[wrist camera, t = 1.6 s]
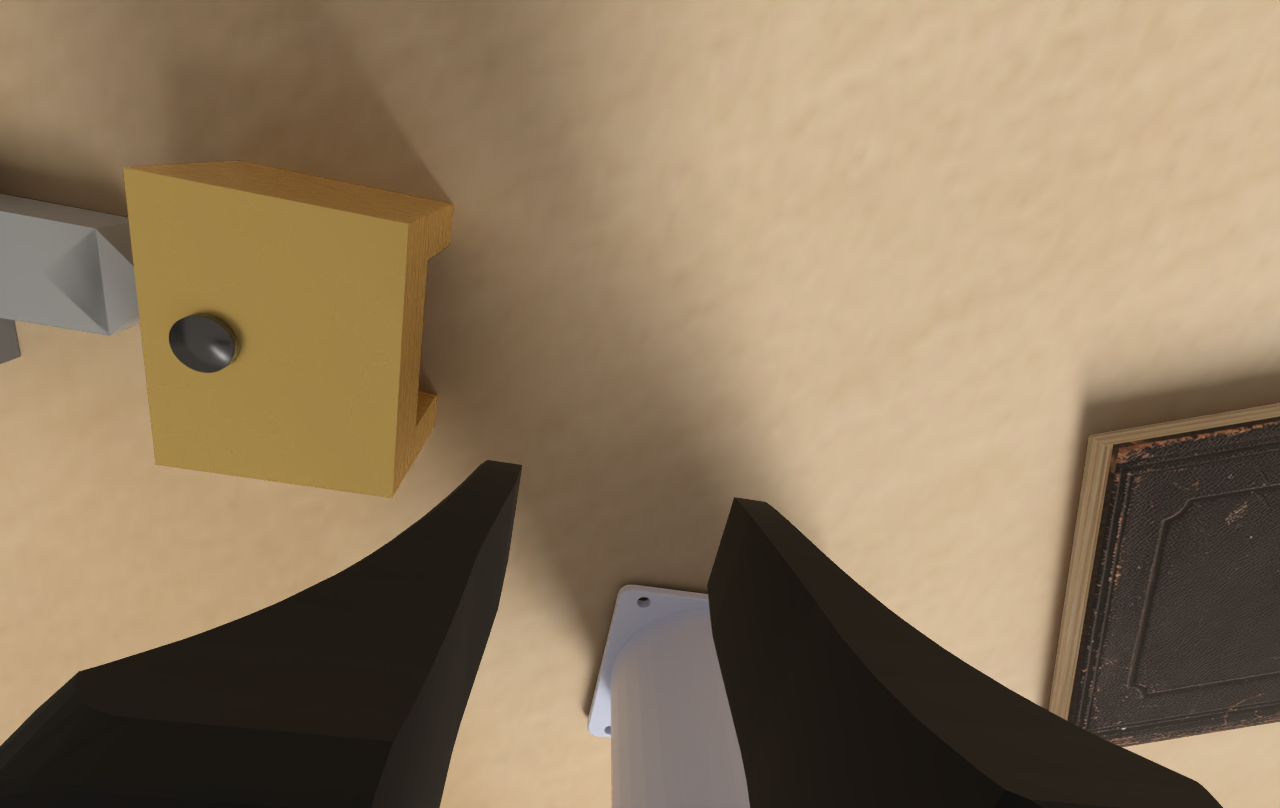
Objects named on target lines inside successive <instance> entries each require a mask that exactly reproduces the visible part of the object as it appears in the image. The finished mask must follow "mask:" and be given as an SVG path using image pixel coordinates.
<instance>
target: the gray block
mask: <svg viewBox="0 0 1280 808" xmlns="http://www.w3.org/2000/svg"><path fill="white" fill-rule="evenodd" d="M14 320H16V321H22V322H28V323H34V324H41V325H47V326H53V327H59V328H65V329H71V330H77V331H83V332H89V333H95V334H101V335H108V336H110V335H113V334H115V333H118V332H120V331H123V330H125V329H128V328H130V327H133V326H135V325H138V324H140V318H139V309H138V300H137V291H136V282H135V273H134V264H133V255H132V246H131V237H130V228H129V219H128V217H123V216H117V215H112V214H107V213H101V212H96V211H91V210H85V209H80V208H75V207H70V206H64V205H59V204H54V203H48V202H43V201H38V200H32V199H27V198H22V197H16V196H11V195H6V194H0V364H2V363H4V362H7V361H10V360H12V359H15V358H18V357H20V351H19V345H18V340H17V335H16V330H15V325H14Z"/></svg>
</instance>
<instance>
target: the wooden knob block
mask: <svg viewBox="0 0 1280 808" xmlns="http://www.w3.org/2000/svg"><path fill="white" fill-rule="evenodd" d="M123 174H124V183H125V192H126V201H127V210H128V219H129V228H130V237H131V246H132V255H133V264H134V273H135V282H136V291H137V300H138V309H139V318H140V327H141V336H142V345H143V355H144V364H145V373H146V382H147V391H148V400H149V409H150V418H151V427H152V436H153V445H154V454H155V463H156V465H162V466H169V467H176V468H183V469H190V470H197V471H204V472H212V473H219V474H226V475H233V476H240V477H247V478H254V479H261V480H268V481H276V482H283V483H290V484H297V485H304V486H311V487H318V488H325V489H332V490H340V491H347V492H354V493H361V494H368V495H375V496H382V497H389V498H393V496H394V494H395V492H396V491H397V489H398V487H399V486H400V484H401V482H402V481H403V479H404V477H405V475H406V474H407V472H408V470H409V469H410V467H411V465H412V464H413V462H414V460H415V458H416V457H417V455H418V453H419V452H420V450H421V448H422V446H423V445H424V443H425V441H426V440H427V438H428V436H429V435H430V433H431V431H432V429H433V428H434V425H435V413H436V402H437V394H432V393H426V392H420V391H418V387H419V373H420V359H421V345H422V331H423V317H424V303H425V289H426V275H427V262H428V259H430V258H431V257H433V256H434V255H436V254H437V253H438V252H440V251H441V250H443V249H444V248H446V247H447V246H449V245H450V237H451V225H452V213H453V204H450V203H445V202H440V201H435V200H431V199H426V198H421V197H416V196H411V195H406V194H401V193H396V192H391V191H386V190H381V189H376V188H371V187H366V186H362V185H357V184H352V183H347V182H342V181H337V180H332V179H327V178H322V177H317V176H312V175H307V174H302V173H298V172H293V171H288V170H283V169H278V168H273V167H268V166H263V165H258V164H253V163H248V162H243V161H221V162H205V163H188V164H171V165H155V166H138V167H123Z"/></svg>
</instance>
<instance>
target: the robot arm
mask: <svg viewBox="0 0 1280 808" xmlns="http://www.w3.org/2000/svg"><path fill="white" fill-rule="evenodd" d="M521 470H522V465H517V464H511V463H504V462H498V461H491V460H487V461H485V462H484V463H482V464H481V465H480V466H479V467H478V468H477V469H476V470H475V471H474V472H473V473H472V474H471V475H470V476H469V477H468V478H467V479H466V480H465V481H464V482H463V483H462V484H461V485H460V486H458V487H457V488H456V489H455V490H454V491H453V492H452V493H451V494H450V495H449V496H447V497H446V498H445V499H444V500H443V501H441V502H440V503H439V504H438V505H437V506H436V507H434V508H433V509H432V510H431V511H430V512H428V513H427V514H426V515H425V516H424V517H422V518H421V519H420V520H418V521H417V522H416V523H414V524H413V525H412V526H410V527H409V528H407V529H406V530H405V531H403V532H402V533H401V534H399V535H398V536H397V537H395V538H394V539H393V540H391V541H390V542H388V543H387V544H385V545H384V546H382V547H381V548H379V549H378V550H376V551H375V552H373V553H372V554H370V555H369V556H367V557H365V558H364V559H362V560H360V561H359V562H357V563H355V564H354V565H352V566H350V567H349V568H347V569H345V570H343V571H342V572H340V573H338V574H336V575H334V576H332V577H330V578H328V579H326V580H324V581H322V582H320V583H318V584H316V585H314V586H312V587H309V588H307V589H305V590H303V591H301V592H299V593H297V594H295V595H293V596H291V597H289V598H287V599H285V600H283V601H281V602H278V603H276V604H274V605H271V606H269V607H267V608H264V609H262V610H259V611H257V612H255V613H252V614H250V615H247V616H245V617H243V618H240V619H237V620H235V621H232V622H230V623H227V624H224V625H222V626H219V627H216V628H214V629H211V630H209V631H206V632H203V633H200V634H197V635H195V636H192V637H189V638H186V639H183V640H180V641H177V642H174V643H171V644H168V645H164V646H161V647H158V648H155V649H152V650H148V651H145V652H142V653H139V654H136V655H133V656H129V657H126V658H123V659H120V660H117V661H114V662H110V663H107V664H104V665H101V666H97V667H94V668H90V669H86V670H83V671H79V672H78V673H77V674H76V675H75V676H74V677H72V678H71V679H70V680H69V681H68V682H67V683H66V684H65V685H64V686H62V687H61V688H60V689H59V690H58V691H57V692H56V693H55V694H54V695H52V696H51V697H50V698H49V699H48V700H47V701H46V702H45V703H43V704H42V705H41V706H40V707H39V708H38V709H37V710H36V711H35V712H34V713H33V714H32V715H31V716H30V717H29V718H28V719H27V720H26V721H25V722H24V723H23V724H22V725H21V726H20V727H19V728H18V729H17V730H16V731H15V732H14V733H13V734H12V735H11V736H10V737H9V738H8V739H7V740H6V741H5V742H4V743H3V744H2V745H1V746H0V808H439V807H440V803H441V798H442V794H443V790H444V785H445V781H446V777H447V772H448V768H449V764H450V759H451V755H452V751H453V747H454V744H455V740H456V737H457V733H458V730H459V726H460V723H461V720H462V717H463V714H464V711H465V708H466V705H467V702H468V699H469V696H470V693H471V689H472V686H473V683H474V680H475V677H476V674H477V671H478V668H479V665H480V662H481V659H482V656H483V653H484V650H485V647H486V644H487V641H488V638H489V635H490V632H491V628H492V625H493V622H494V619H495V616H496V613H497V610H498V606H499V601H500V596H501V591H502V587H503V582H504V577H505V572H506V567H507V562H508V557H509V550H510V543H511V536H512V530H513V523H514V516H515V510H516V503H517V496H518V490H519V483H520V476H521ZM707 587H708V594H702V593H695V592H687V591H679V590H672V589H664V588H656V587H648V586H641V585H626V586H623V587H622V588H621V589H620V590H619V592H618V596H617V600H616V604H615V608H614V612H613V617H612V621H611V625H610V629H609V633H608V637H607V642H606V646H605V650H604V654H603V658H602V663H601V667H600V671H599V675H598V679H597V683H596V688H595V692H594V696H593V700H592V704H591V708H590V713H589V717H588V723H587V729H588V732H589V733H590V734H592V735H594V736H599V737H610V738H611V783H612V808H1223V807H1222V806H1221V805H1220V804H1219V803H1218V802H1217V800H1216V799H1215V798H1214V797H1213V796H1212V795H1211V794H1210V793H1209V792H1208V791H1207V790H1206V789H1205V788H1204V787H1203V786H1202V785H1201V784H1199V783H1198V782H1196V781H1194V780H1192V779H1190V778H1188V777H1185V776H1183V775H1181V774H1179V773H1177V772H1175V771H1172V770H1170V769H1168V768H1166V767H1164V766H1161V765H1159V764H1157V763H1155V762H1153V761H1150V760H1148V759H1146V758H1144V757H1142V756H1140V755H1137V754H1135V753H1133V752H1131V751H1129V750H1126V749H1124V748H1122V747H1120V746H1118V745H1115V744H1113V743H1111V742H1109V741H1107V740H1104V739H1102V738H1100V737H1098V736H1096V735H1094V734H1092V733H1090V732H1088V731H1086V730H1084V729H1082V728H1081V727H1079V726H1077V725H1075V724H1073V723H1071V722H1069V721H1067V720H1065V719H1063V718H1061V717H1059V716H1057V715H1056V714H1054V713H1052V712H1050V711H1048V710H1046V709H1044V708H1042V707H1040V706H1038V705H1037V704H1035V703H1033V702H1031V701H1030V700H1028V699H1026V698H1024V697H1022V696H1021V695H1019V694H1017V693H1015V692H1013V691H1012V690H1010V689H1008V688H1006V687H1005V686H1003V685H1001V684H1000V683H998V682H997V681H995V680H993V679H992V678H990V677H988V676H987V675H985V674H983V673H982V672H980V671H978V670H977V669H975V668H973V667H972V666H970V665H969V664H967V663H965V662H964V661H962V660H961V659H959V658H958V657H956V656H954V655H953V654H951V653H950V652H948V651H947V650H945V649H944V648H942V647H941V646H939V645H938V644H937V643H935V642H934V641H932V640H931V639H929V638H928V637H927V636H925V635H924V634H922V633H921V632H920V631H918V630H917V629H915V628H914V627H912V626H911V625H910V624H908V623H907V622H905V621H904V620H903V619H901V618H900V617H899V616H897V615H896V614H895V613H894V612H892V611H891V610H890V609H888V608H887V607H886V606H885V605H883V604H882V603H881V602H880V601H878V600H877V599H876V598H875V597H874V596H872V595H871V594H870V593H869V592H867V591H866V590H865V589H864V588H863V587H861V586H860V585H859V584H858V583H857V582H855V581H854V580H853V579H852V578H851V577H850V576H848V575H847V574H846V573H845V572H844V571H843V570H842V569H840V568H839V567H838V566H837V565H836V564H835V563H834V562H833V561H831V560H830V559H829V558H828V557H827V556H826V555H825V554H824V553H823V552H822V551H820V550H819V549H818V548H817V547H816V546H815V545H814V544H813V543H812V542H811V541H810V540H809V539H807V538H806V537H805V536H804V535H803V534H802V533H801V532H800V531H799V530H798V529H797V528H796V527H795V526H793V525H792V524H791V523H790V522H789V521H788V520H787V519H786V518H785V517H784V516H782V515H781V514H780V513H779V512H778V511H777V510H775V509H774V508H773V507H772V506H770V505H769V504H768V503H766V502H762V501H755V500H749V499H742V498H735V497H734V500H733V503H732V507H731V510H730V513H729V516H728V520H727V523H726V526H725V529H724V533H723V536H722V539H721V542H720V546H719V549H718V552H717V555H716V559H715V562H714V565H713V568H712V572H711V575H710V578H709V581H708V585H707ZM641 597H647V598H649V599H647V600H645V601H641V600H638V599H639V598H641Z"/></svg>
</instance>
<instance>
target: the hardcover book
mask: <svg viewBox="0 0 1280 808" xmlns="http://www.w3.org/2000/svg"><path fill="white" fill-rule="evenodd" d="M1048 711H1050V712H1052V713H1054V714H1056V715H1057V716H1059V717H1061V718H1063V719H1065V720H1067V721H1069V722H1071V723H1073V724H1075V725H1077V726H1079V727H1081V728H1082V729H1084V730H1086V731H1088V732H1090V733H1092V734H1094V735H1096V736H1098V737H1100V738H1102V739H1104V740H1107V741H1109V742H1111V743H1113V744H1115V745H1118V746H1120V747H1126V746H1132V745H1138V744H1144V743H1151V742H1157V741H1163V740H1169V739H1175V738H1182V737H1188V736H1194V735H1200V734H1206V733H1212V732H1219V731H1225V730H1231V729H1237V728H1243V727H1250V726H1256V725H1262V724H1268V723H1274V722H1280V403H1276V404H1270V405H1264V406H1258V407H1252V408H1246V409H1241V410H1235V411H1229V412H1223V413H1217V414H1211V415H1205V416H1199V417H1193V418H1187V419H1181V420H1175V421H1169V422H1164V423H1158V424H1152V425H1146V426H1140V427H1134V428H1128V429H1122V430H1116V431H1110V432H1104V433H1098V434H1092V435H1089V438H1088V445H1087V452H1086V458H1085V465H1084V472H1083V479H1082V485H1081V492H1080V499H1079V506H1078V512H1077V519H1076V526H1075V533H1074V539H1073V546H1072V553H1071V560H1070V566H1069V573H1068V580H1067V586H1066V593H1065V600H1064V607H1063V613H1062V620H1061V627H1060V634H1059V640H1058V647H1057V654H1056V661H1055V667H1054V674H1053V681H1052V688H1051V694H1050V701H1049V708H1048Z"/></svg>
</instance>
